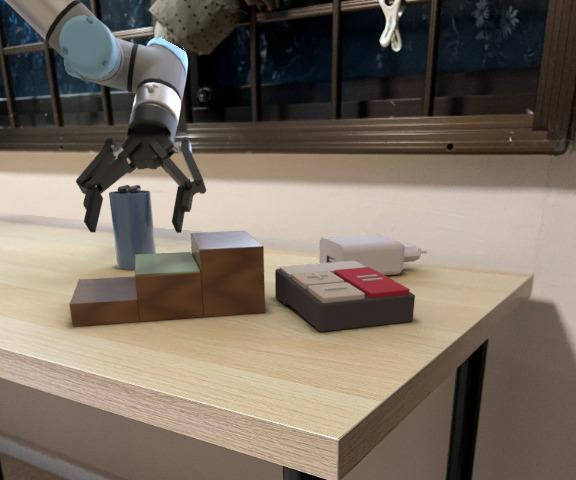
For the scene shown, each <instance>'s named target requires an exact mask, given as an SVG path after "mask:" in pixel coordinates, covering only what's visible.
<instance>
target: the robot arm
mask: <svg viewBox="0 0 576 480" xmlns="http://www.w3.org/2000/svg"><path fill="white" fill-rule="evenodd" d="M4 1H5V2H6V3H7V4H8V5H9V6H10V7H11V8H12V9H13V10H14V11H15V12H16V13H17V14H18V15H19V16H20V17H21V18H22V19H23V20H24V21H25V22H26V23H28V25H29V26H30V27H31V28H32V29H33V30H34V31H36V33H37V34H38V35H40V36H41V38H43V39H44V40H45V41H46V42H47V43H48V44H49V45H50V47H51V48H52V49H53V50H55V52H57V53H58V54H59V55H60V56H61V57H62V59H63V65H64V70H65V72H66V73H67V74H68V75H69V76H70V77H73V78H77V79H80V80H81V81H85V82H88V83H89V82H91V83H94V84H98V85H102V86H105V87H109V88H112V89H116V90H120V91H121V90H122V91H126V92H128V93H131V94H135V96H134V100H133V104H132V109H131V113H130V117H129V121H128V125H127V133H126V138H125V139H124V140H123V142H116V141H114V139H113V138H112V137H108V138H106V139H105V141H104V144H103V147H102V148H101V150H100V151H99V152H98V153H97V154H96V155H95V157H94V158H93V159H92V161H91V162H90V163H89V164H88V165H87V166H86V168H84V170H83V171H82V172H81V173H80V175H79V176H78V177H77V178H76V180H75V183H76V184H77V186H78V188H79V190H80V191H81V193H82V194H83V195H84V198H83V203H82V204H83V207H84V209H85V215H84V218H83V223H84V224H85V226H86V228H87V229H88V230H89V232H90V233H96V231H97V227H98V224H99V218H100V215H101V210H102V207H103V206H102V205H103V201H104V197H103V195H102V194H103V193H104V192H105V191H106V190H108V189H110V188H111V186H113V185H114V184H115V183H116V182H118V181H119V180H120V179H122V178H124V176H126V174H132V172H134V171H135V170H136V169H137V170H147V169H148V170H149V169H150V170H157V169H158V168H160V167H161V168H162V169H163V170H164V172H165V173H166V174H168V175H169V176H170V177H171V179H172V180H173V182H175V183H176V184H177V185H178V186H177V190H176V195H175V201H174V205H173V206H174V207H173V210H172V211H173V212H172V218H171V223H172V225H173V228H174V230H175V233H177V234H181V233H182V231H183V226H184V225H183V224H184V218H185V213H190V212H191V210H192V206H193V200H194V196H195V195H196V194H200V195H202V194H203V195H204V194H205V193H206V192H207V187H206V184H205V181H204V178H203V175H202V173H201V172H200V169H199V167H198V165H197V163H196V160H195V158H194V156H193V148H192V144H191V141H190V138H189V137H188V136H184V137H182V138H181V141H176V135H177V131H178V126H179V119H180V114H181V107H182V103H183V97H184V92H185V87H186V82H187V76H188V67H189V60H188V59H189V58H188V55H187V52H186V50H185V49H184V50H185V51H184V50H182V49H181V48H179V47H178V46H176V45H174V44H172V43H170V42H168V41H166V40H165V39H162V37H163V36H161V37H154V38H152V39H150V40H149V41H148V42H147V44H146V45H144V44H143V45H142V44H138V43H134V42H130V41H127V40H124V39H121V38H118V37H116V36H115V35H114V33H113V32H112V30H110V28H109V27H108V26H107V25H106V24H105V22H103V21H102V20H100V19H98V18H97V16H96V15H95V14H94V13H93V12H92V11H91V10H90V8H88V7H87V6H86V5H85V4H84V3H83V2H82V1H80V0H4ZM176 153H178V155H179V156H181V158H184V162H185V164H186V167H187V169H188V170H189V171H188V172H189V173H190V175H191V177H192V181H191V179H190V178H188V177H187V175H185V173H184V172H183V171H182V170H181V169H180V168H179V166H177V164H176V163H175V162H174V161H173V159H172V158H171V157H172V156H174V155H175V154H176ZM128 160H129V161H128Z"/></svg>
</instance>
